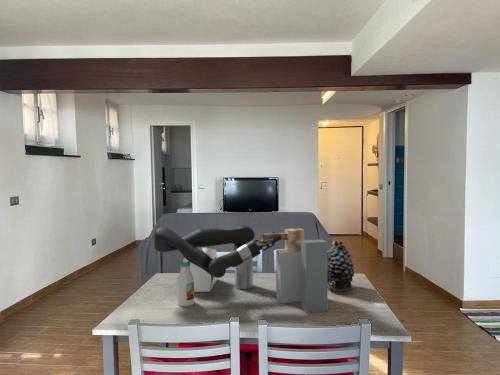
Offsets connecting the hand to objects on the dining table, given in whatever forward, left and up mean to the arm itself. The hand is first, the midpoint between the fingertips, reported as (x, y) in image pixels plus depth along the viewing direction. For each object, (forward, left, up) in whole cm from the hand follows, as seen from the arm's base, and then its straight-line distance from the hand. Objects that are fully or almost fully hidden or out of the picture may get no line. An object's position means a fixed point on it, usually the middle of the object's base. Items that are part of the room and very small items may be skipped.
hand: (277, 235), depth 167 cm
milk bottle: (-44, +4, -32) cm, 55 cm away
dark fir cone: (+35, +8, -32) cm, 48 cm away
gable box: (-36, +29, -32) cm, 56 cm away
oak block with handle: (+2, -1, -8) cm, 8 cm away
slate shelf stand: (+9, -7, -32) cm, 34 cm away
